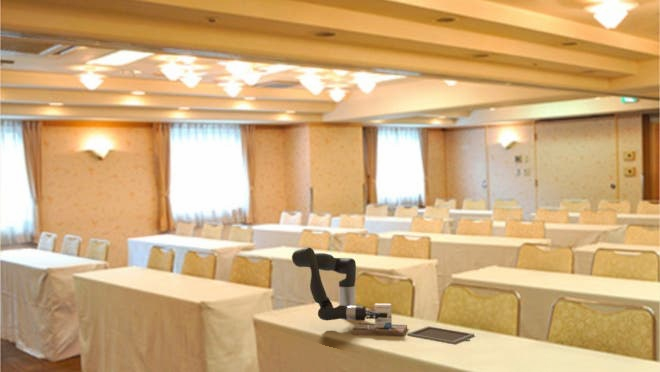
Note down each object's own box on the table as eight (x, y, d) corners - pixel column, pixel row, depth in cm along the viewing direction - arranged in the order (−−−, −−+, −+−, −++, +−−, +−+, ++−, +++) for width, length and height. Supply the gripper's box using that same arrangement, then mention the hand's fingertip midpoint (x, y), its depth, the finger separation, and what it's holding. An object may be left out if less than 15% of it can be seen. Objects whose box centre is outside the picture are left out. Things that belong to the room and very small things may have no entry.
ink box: (391, 325, 343) (391, 303, 343) (391, 327, 338) (391, 305, 338) (375, 325, 344) (374, 302, 344) (374, 327, 339) (374, 305, 339)
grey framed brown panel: (428, 326, 347) (479, 334, 327) (428, 329, 347) (479, 337, 327) (406, 333, 333) (459, 342, 313) (407, 336, 333) (459, 346, 313)
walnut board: (358, 326, 353) (358, 322, 353) (407, 328, 346) (406, 324, 346) (351, 334, 338) (351, 330, 338) (402, 336, 331) (402, 332, 331)
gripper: (353, 308, 338) (385, 310, 334) (359, 302, 352) (390, 304, 347) (353, 323, 338) (385, 324, 334) (359, 316, 352) (390, 318, 348)
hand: (388, 314), depth 341 cm, fingers closed on ink box, 5 cm apart
